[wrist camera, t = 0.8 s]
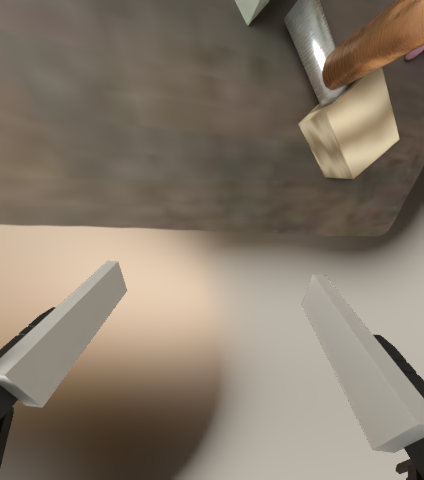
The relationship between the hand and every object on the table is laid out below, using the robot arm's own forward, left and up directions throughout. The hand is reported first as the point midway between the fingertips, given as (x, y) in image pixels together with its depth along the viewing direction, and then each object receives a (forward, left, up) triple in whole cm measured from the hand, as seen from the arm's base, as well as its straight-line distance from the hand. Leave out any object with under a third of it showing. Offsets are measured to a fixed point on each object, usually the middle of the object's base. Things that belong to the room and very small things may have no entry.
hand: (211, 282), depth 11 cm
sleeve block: (+1, +30, -22) cm, 37 cm away
